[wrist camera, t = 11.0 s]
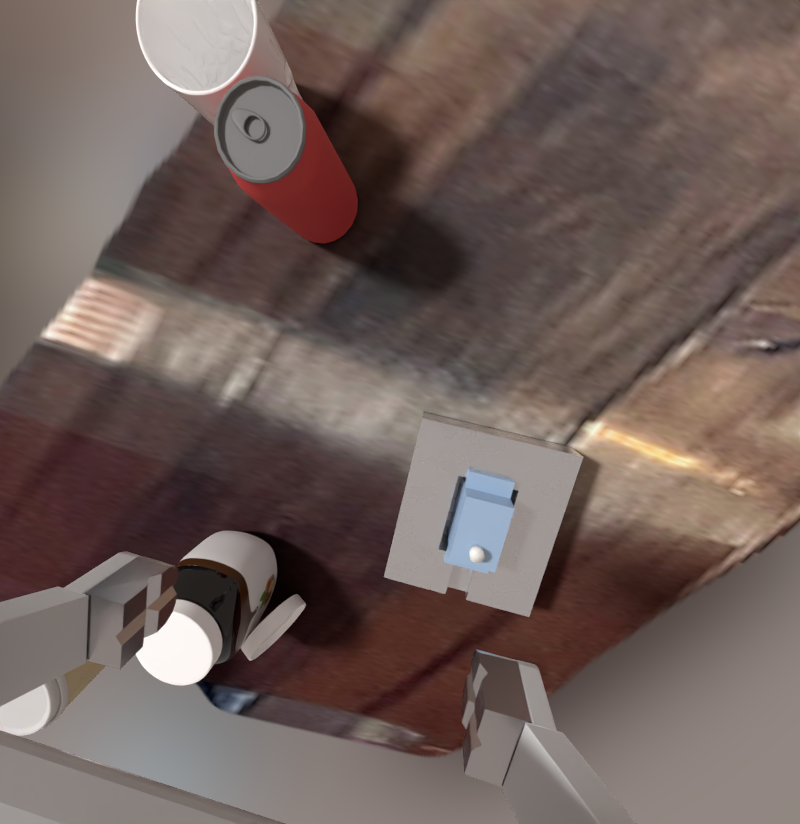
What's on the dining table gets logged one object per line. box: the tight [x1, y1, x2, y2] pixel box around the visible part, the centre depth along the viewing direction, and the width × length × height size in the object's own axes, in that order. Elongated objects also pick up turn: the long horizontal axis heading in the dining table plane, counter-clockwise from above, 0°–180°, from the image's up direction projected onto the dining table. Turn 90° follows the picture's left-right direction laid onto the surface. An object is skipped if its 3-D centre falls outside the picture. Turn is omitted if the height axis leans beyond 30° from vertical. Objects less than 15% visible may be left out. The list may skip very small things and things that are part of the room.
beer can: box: [214, 76, 358, 243], centre depth 27 cm, size 7×7×12 cm
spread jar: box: [136, 531, 306, 685], centre depth 35 cm, size 12×11×12 cm
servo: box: [444, 469, 515, 574], centre depth 33 cm, size 4×9×6 cm, turn 167°
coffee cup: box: [0, 661, 105, 735], centre depth 37 cm, size 9×9×12 cm
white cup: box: [136, 0, 303, 125], centre depth 27 cm, size 8×8×10 cm
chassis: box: [384, 412, 583, 617], centre depth 35 cm, size 14×16×3 cm
